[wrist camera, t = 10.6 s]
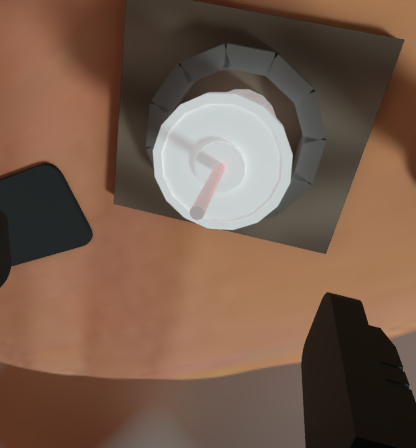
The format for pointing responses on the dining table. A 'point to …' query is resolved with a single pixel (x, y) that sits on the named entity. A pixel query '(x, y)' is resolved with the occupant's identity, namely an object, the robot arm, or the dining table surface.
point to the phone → (41, 214)
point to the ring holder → (262, 84)
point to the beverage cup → (223, 159)
